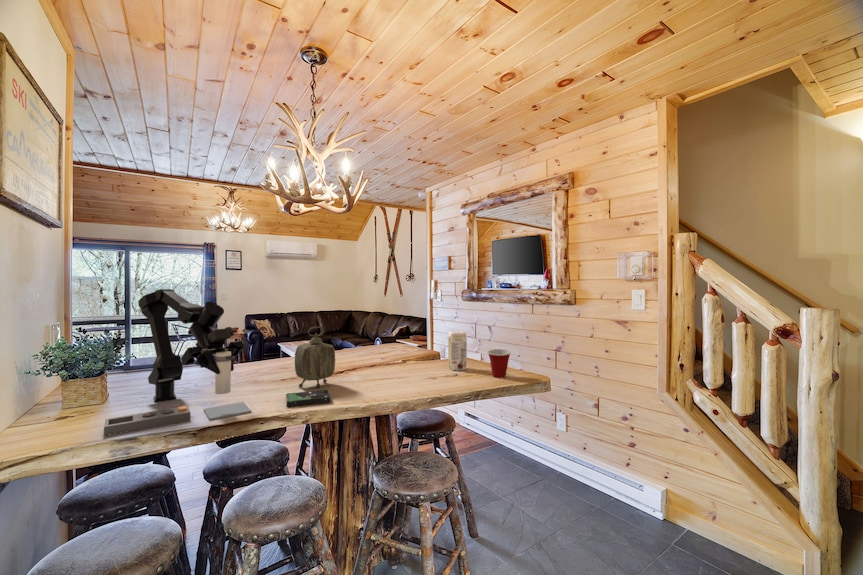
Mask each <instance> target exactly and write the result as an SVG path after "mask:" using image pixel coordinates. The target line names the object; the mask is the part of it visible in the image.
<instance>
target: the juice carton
mask: <svg viewBox="0 0 863 575" xmlns="http://www.w3.org/2000/svg"><path fill="white" fill-rule="evenodd" d="M447 337H448V338H447V365H448V368H449V369H450V370H451V369H452V370H451V371H453V370H456V371H466V369H467V356H468V355H467V354H468V353H467V352H468V351H467V346H468V345H467V344H468V342H467V341H468V340H467V339H468V337H467V333H466V332H465V331H463V330H460V331H448V336H447Z"/></svg>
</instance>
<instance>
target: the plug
mask: <svg viewBox="0 0 863 575" xmlns="http://www.w3.org/2000/svg"><path fill="white" fill-rule="evenodd" d="M231 360H233V361H234V357H232V356H231V352H230V351H223V352H217V353H216V355H215V359H214V361H215V363H216V365H217V366H218V368H219V371H220V373H219V374H216V373H214V374H215V378H214V380H215V382H214V384H215V385H214V386H215V388H214V389H215V390H214V393H215V394H216V395H226V394H229V393H231V392H232V389H231V388H232V383H231V381H232V371H231Z"/></svg>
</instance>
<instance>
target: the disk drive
mask: <svg viewBox="0 0 863 575" xmlns="http://www.w3.org/2000/svg"><path fill="white" fill-rule="evenodd" d="M285 397H286V399H285V400H286V408H287V407H288V408H296V407H297V406H298V407H305V406H306V405H307V406H316V405H325V404H331V402H332V401H331V400H332V399H331V395H330V393H329V390H328V389H324V390H322V389H321V390H312V391H310V390H309V391H301V392H299V391H298V392H292V393H286V394H285ZM315 404H316V405H315ZM298 407H297V408H298Z"/></svg>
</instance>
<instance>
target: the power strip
mask: <svg viewBox="0 0 863 575" xmlns="http://www.w3.org/2000/svg"><path fill="white" fill-rule="evenodd" d="M188 421H191V411H190V408H189V406H188V405H182V406H178V407H177V406H176V407H172V408H171V407H170V408H165V409H159V410H152V411H147V412H140V413H135V414H128V415H122V416H117V417H110V418H109V417H108V418H105V420H104V425H103V426H104V427H103V436H104V435H108V436H110V435H109V434H113V435H115V434H114V433H118V434H121V433H120V432H124V433H127V432H126V431H129V432H133V431H134V430H135V431H139V430H145V429H149V428H155V427H161V426H166V425H171V424H178V423H183V422H188Z"/></svg>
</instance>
